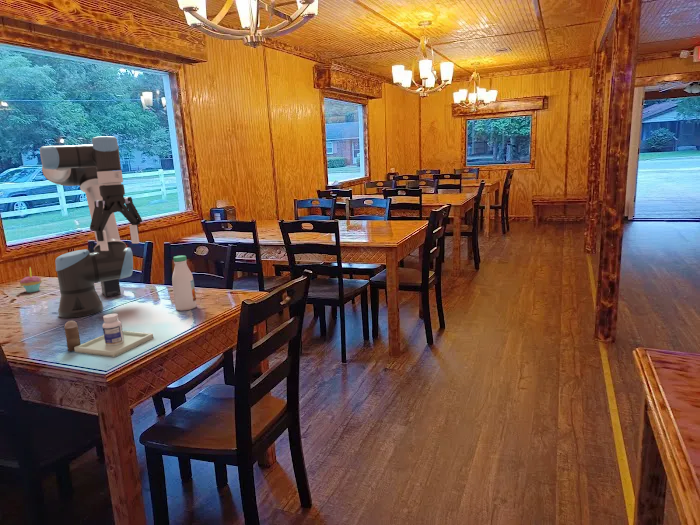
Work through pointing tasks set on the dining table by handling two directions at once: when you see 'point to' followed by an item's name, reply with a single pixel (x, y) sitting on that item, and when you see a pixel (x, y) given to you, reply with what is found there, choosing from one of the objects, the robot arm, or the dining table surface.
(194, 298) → the milk bottle
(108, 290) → the small box
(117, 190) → the robot arm
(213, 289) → the dining table surface
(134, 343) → the tray
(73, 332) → the pepper shaker
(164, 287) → the dining table surface
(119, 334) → the pill bottle
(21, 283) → the cupcake
